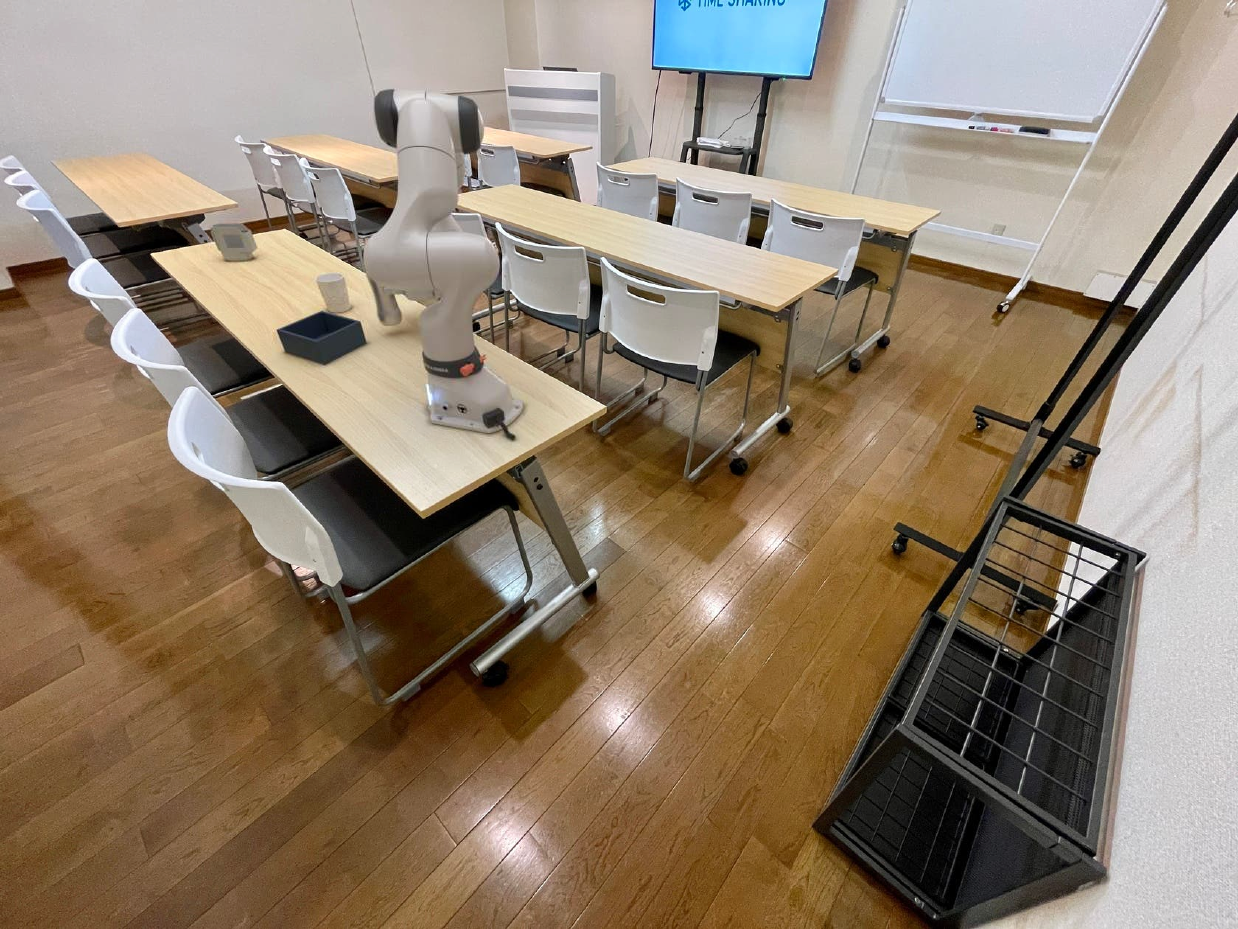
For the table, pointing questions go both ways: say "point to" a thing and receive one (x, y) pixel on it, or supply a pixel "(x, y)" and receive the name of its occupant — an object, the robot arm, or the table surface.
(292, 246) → the table surface
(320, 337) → the tub
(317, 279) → the white cup
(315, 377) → the table surface
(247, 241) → the cable organizer
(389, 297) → the metal water bottle
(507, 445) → the table surface
